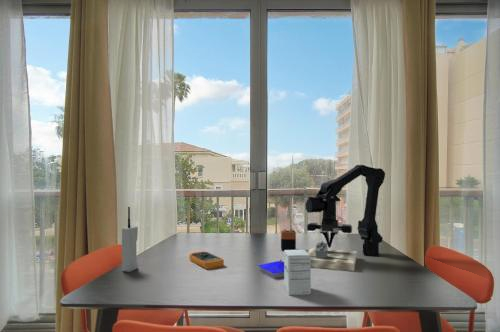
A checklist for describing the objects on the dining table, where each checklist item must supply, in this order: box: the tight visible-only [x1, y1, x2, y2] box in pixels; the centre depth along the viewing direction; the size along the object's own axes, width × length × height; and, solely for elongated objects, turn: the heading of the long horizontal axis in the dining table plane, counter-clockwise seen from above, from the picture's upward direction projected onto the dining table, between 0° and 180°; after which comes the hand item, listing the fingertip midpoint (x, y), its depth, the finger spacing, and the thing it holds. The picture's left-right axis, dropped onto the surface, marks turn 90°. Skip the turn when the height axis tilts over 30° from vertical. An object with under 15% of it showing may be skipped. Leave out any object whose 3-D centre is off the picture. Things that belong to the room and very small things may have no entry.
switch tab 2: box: [316, 246, 328, 259], centre depth 142 cm, size 4×5×4 cm
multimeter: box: [188, 250, 225, 270], centre depth 145 cm, size 9×18×3 cm, turn 33°
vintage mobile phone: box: [121, 206, 139, 273], centre depth 136 cm, size 4×5×25 cm
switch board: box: [307, 247, 358, 272], centre depth 146 cm, size 20×20×3 cm
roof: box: [256, 259, 284, 279], centre depth 132 cm, size 12×12×5 cm
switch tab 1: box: [315, 240, 328, 249], centre depth 152 cm, size 4×5×4 cm
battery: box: [280, 228, 297, 252], centre depth 167 cm, size 4×7×10 cm, turn 91°
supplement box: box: [283, 249, 312, 296], centre depth 112 cm, size 7×7×13 cm
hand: (329, 247), depth 151 cm, fingers closed
